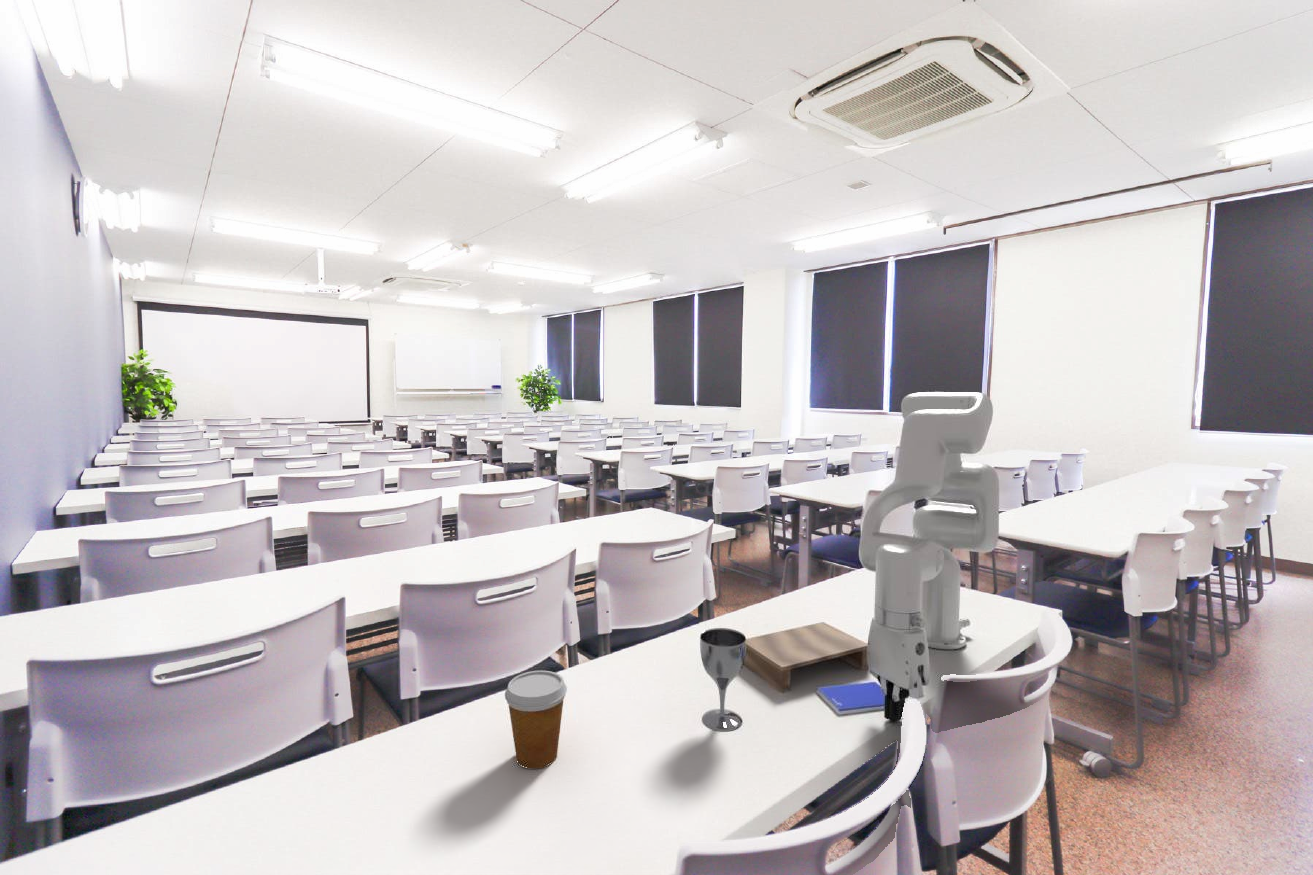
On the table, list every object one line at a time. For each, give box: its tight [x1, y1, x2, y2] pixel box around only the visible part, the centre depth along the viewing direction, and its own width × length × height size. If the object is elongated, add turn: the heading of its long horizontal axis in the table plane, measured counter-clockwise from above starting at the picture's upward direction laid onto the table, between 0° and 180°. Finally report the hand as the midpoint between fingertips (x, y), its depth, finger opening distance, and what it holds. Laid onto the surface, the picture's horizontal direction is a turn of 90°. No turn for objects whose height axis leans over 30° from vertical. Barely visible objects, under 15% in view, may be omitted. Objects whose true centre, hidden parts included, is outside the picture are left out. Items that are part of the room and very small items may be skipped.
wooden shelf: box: [743, 621, 869, 693], centre depth 123 cm, size 23×14×5 cm, turn 116°
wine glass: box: [699, 627, 747, 732], centre depth 102 cm, size 8×8×15 cm
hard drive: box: [816, 681, 885, 715], centre depth 110 cm, size 2×8×12 cm
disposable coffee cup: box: [504, 670, 568, 770], centre depth 92 cm, size 10×10×12 cm
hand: (894, 717), depth 102 cm, fingers closed
